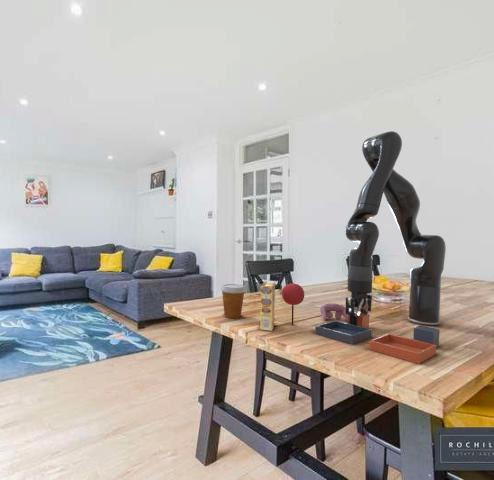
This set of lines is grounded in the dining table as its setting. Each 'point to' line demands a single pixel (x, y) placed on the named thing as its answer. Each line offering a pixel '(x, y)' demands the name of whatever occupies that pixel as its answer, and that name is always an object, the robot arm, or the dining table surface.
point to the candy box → (267, 306)
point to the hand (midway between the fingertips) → (358, 325)
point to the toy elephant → (337, 308)
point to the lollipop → (293, 295)
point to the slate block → (426, 335)
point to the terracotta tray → (403, 348)
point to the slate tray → (343, 332)
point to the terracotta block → (362, 320)
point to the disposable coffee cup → (233, 299)
